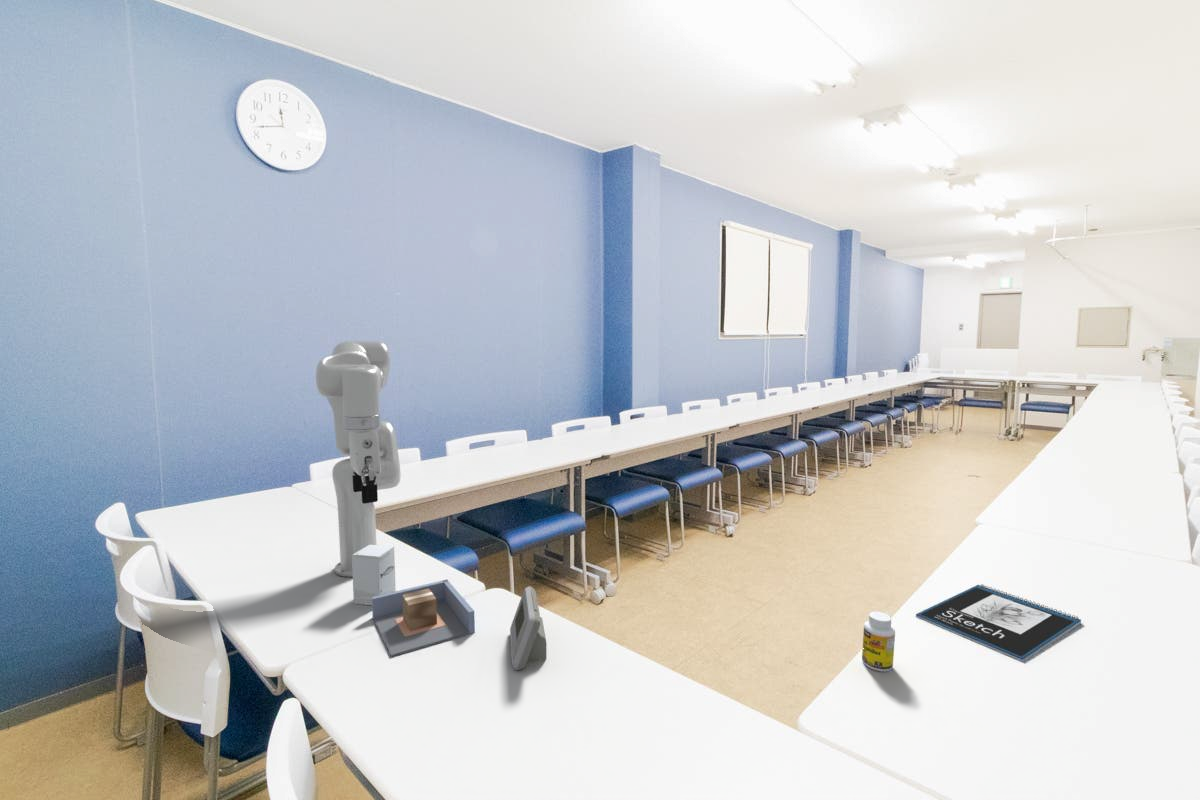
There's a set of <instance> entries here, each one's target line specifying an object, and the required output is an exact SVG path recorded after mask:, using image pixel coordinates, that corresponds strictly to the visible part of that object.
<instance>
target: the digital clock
mask: <svg viewBox="0 0 1200 800" xmlns="http://www.w3.org/2000/svg"><path fill="white" fill-rule="evenodd" d="M537 596H538V595H537V591H536V590H535V589H534V587H532V586H530V585H529V586H527V587H525V588H524V589H523V593H522V595H521V596H520V597H521V598H520V600H519V603H518V605H517V608H516V610H515V614H514V616H513V619H512V622H511V624H510V627H509V628H510V629H509V633H510V634H509V637H510V653H511V656H510V657H511V665H512V667H513V668H514V669H515V671H520V670H523V669H525V667H526V665H527V663H528V662H535V661H537V662H538V661H545V660H547V656H548V655H547V638H546V632H545V627H544V626H545V625H544V621H543V617H541V614H540V609H539V608H540V607H539V602H538V597H537Z"/></svg>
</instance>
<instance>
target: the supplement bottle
mask: <svg viewBox="0 0 1200 800" xmlns="http://www.w3.org/2000/svg"><path fill="white" fill-rule="evenodd" d="M895 639H896V630H895V627H894V626H893V625H892V617H891V616H889V615H888V614H887V613H885V612H882V611H881V612H880V611H871V612H870V613H869V614H868V620H867V621H865V622H864V624H863V635H862V650H861V651H862V653H861V659H862V663H863V664H864V665H865V666H866V667H868V668H870V669H871V670H874V671H878V672H888V671H890V670H892V669H893V666H894V654H895ZM863 648H864V649H863Z"/></svg>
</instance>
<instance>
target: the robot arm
mask: <svg viewBox="0 0 1200 800" xmlns="http://www.w3.org/2000/svg"><path fill="white" fill-rule="evenodd" d="M390 365H391V357H390V351H389V348H388V347H387V345H386V344H385V343H383V342H381V341H379V340H378V341H377V340H349V341H348V340H347V341H342V342H340V343H338V344H337V345H336V346H335V347H334V348H333V350H332V353H331V355H330V356H329V355H328V356H325V357H324V358H321V360H319V362H318V363H317V366H316V369H315V382H316V383H315V384H316V388H317V390H318V393H319V394H320V396H322V397H324V398H326V399H327V401H328V404H329V406H330V408H331V410H332V413H333V422H334V425H333V426H334V435H335V444H336V449H337V451H338V453H339V454H340V455H342V456H345V457H349V458H345V459H342V460H340V461H338V462H336V463H335V464H334V466H332V467H333V468H332V471H331V473H332V476H331V477H332V481H333V485H334V491H335V496H336V504H337V517H338V519H337V520H338V535H339V537H338V539H339V554H340V555H339V556H340V557H339V559H340V562H338V563H337V564H335V566H334V573H335V574H336V575H337V574H338V576H341V577H345V576H346V578H348V577H349V578H351V577H352V578H353V572H352V555H353V554H354V553H356V552H358V551H359V550H361V549H363V548H364V547H366V546H368V545H378V543H377V528H376V527H377V524H376V523H377V522H376V506H375V504H374V503H377V502H378V500H379V498H378V491H379V490H387V489H393V488H395V487H397V486H398V485H399V484H400V483H401V482H400V481H401V466H400V465H401V464H400V457H399V449H398V443H397V435H396V431H395V427H394V426H393V425H392V424H391V422H389V421H387V420H386V421H385V420H381V415H380V413H381V412H380V392H381V390H382V389H384V388H385V386H386V385H387V381H388V376H389V371H390Z"/></svg>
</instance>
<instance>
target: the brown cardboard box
mask: <svg viewBox="0 0 1200 800" xmlns="http://www.w3.org/2000/svg"><path fill="white" fill-rule="evenodd" d="M402 602H403V620H404V622H405V624H406V626H407V627H408V629H409V631H413V630H417V629H421V628H424V627H428V626H432V625H435V624H437V606H436V598H435V596H434V595H433V593H432V592H431V591H430V590H429V589H425V590H421V591H416V592H412V593H408V594H404V595H402Z"/></svg>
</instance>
